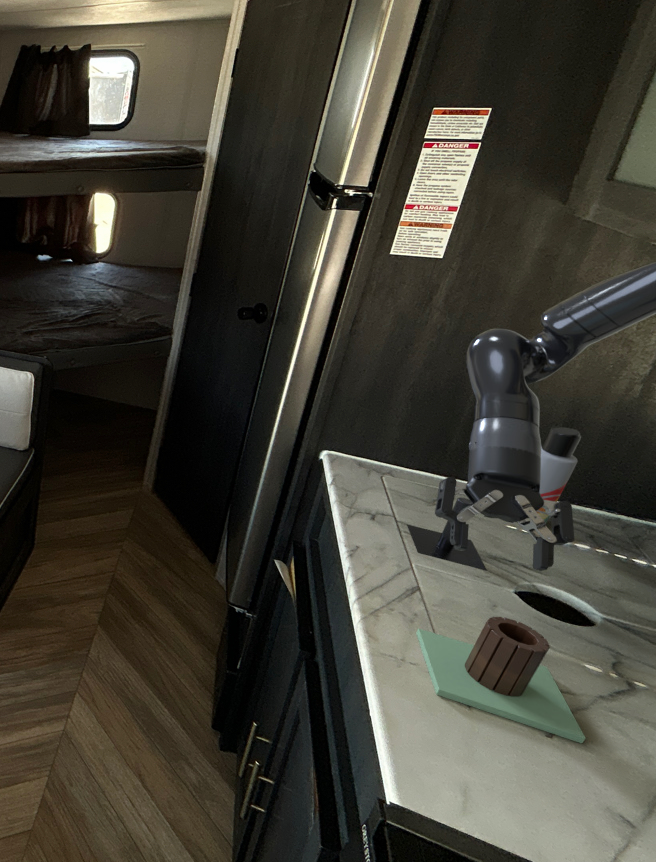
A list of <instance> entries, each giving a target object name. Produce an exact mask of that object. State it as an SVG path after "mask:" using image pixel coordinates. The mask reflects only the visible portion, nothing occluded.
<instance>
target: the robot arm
mask: <svg viewBox="0 0 656 862" xmlns="http://www.w3.org/2000/svg"><path fill="white" fill-rule="evenodd" d="M654 315H656V260H655V261H652V262H650V263H647V264H643V265H641V266H637V267H635V268H632V269H630V270H626V271H623V272H621V273H619V274H618V273H617V274H616V275H614V276H610V277H608V278H606V279H603V280H602V281H599V282H597V283H595V284H593V285H590V286H588V287H587V288H584V289H583V290H581V291H579V292H577V293H575V294H574V295H572V296H569V297H568V298H566V299H564V300H562V301H560V302H559V303H556V304H555V305H553V306H551V307H549V308H548V309H546V310H545V311H543V312H542V314H541V315H540V316H539V320H540V324H541V325H542V327H543V329H542V330H541V331H539V333H537V334H536V335H534V336H533V337H532V338H530V339H528V338H526V337H525V336H523V335H522V334H520V333H518V332H517V331H514V330H512V329H507V328H502V327H501V328H498V327H497V328H491V329H490V328H489V329H487V330H485V331H482V332H480V333H479V334H477V335H476V336H475V337H474V338H473V339H472V340H471V342H470V343H469V344H468V346H467V350H466V354H465V365H466V369H467V373H468V374H467V375H468V378H469V382H470V387H471V390H472V393H473V396H474V407H473V408H474V409H473V422H472V423H473V424H472V430H471V433H470V438H469V443H468V449H469V453H468V469H467V470H468V472H467V482H462V481H459V480H457V479H456V478H455V477H453V476H448V477H446V478H443V480H441V481H440V482H439V484H438V489H437V496H436V501H435V507H434V508H435V509H434V515H435V516H436V517H437V518H442V519H443V520H446V521H449V522H450V524H451V531H450V542H451V545H455V550H459V551H463V550H466V549H467V545H468V539H469V529H470V527H469V526H470V525H469V524H468V523H467V522H468V521H470V520H471V519H472V518H473V517H475V516H476V515H478V514H480V515H483V517H485V518H489V519H499V520H500V521H504V522H506V523H517V524H518V525H519V527H520V528H521V529H522V530H523V532H527V534H528V535H529V536H530V537H531V538H532V540H533V541H534V542H535V543H533V548H532V569H533V570H535V571H540V572H543V571H547V570H548V568H552V567H553V565H554V563H555V561H554V560H555V557H554V556H555V546H564V545H567V544H571V543H573V542H574V541H575V528H574V517H573V506H572V503H571V502H570V501H568V500H561V501H557V502H555V501H549V500H543V498H542V497H541V495H540V480H541V446H542V439H541V434H540V433H541V432H540V413H541V412H540V411H541V409H540V401H539V397H538V396H537V395H536V394H535V392H534V391H533V390H532V389H531V388H530V387H529V386H528V385H531V384H534V383H537V382H540V381H542V380H545V379H547V378H548V377H550V376H552V375H553V374H555V373H556V372H557V371H559V370H560V369H561V368H563V367H564V366H566V365H567V364H568V363H569V362H571V361H572V360H573V359H575V358H576V357H577V356H579V355H580V354H581V353H582V352H584V350H586V349H587V348H588V347H589V346H591V345H593V344H595V343H597V342H598V343H599V342H600V341H602V340H604V339H607V338H609V337H611V336H614V335H615V334H616V333H619V332H621V331H623V330H625V329H627V328H629V327H632V326H633V325H635V324H638V323H639V322H642V321H644V320H647V319H648V318H650V317H652V316H654ZM461 491H463V493H464V495H465V496H466V497H467V499H469V500H470V501H471V502H472V503H471V504H470V505H469V506H467V507H466V508H464V509H463V510H461V511H460V512H459V513H457V512H455V511H453V507H454V503H455V502H454V501H455V496H456V495H458V494H460V493H461ZM541 507H542V508H544V509H545V510H546V513H547V515H549V517H550V525H551V530H550V529H549V528H548V527H547V522H546V523H545V521H544V520H543V519H542V518H541V516H540V515H539V514H538V513H537V512H536V511H537V510H539V509H540V508H541ZM528 519H529V520H530V521H529V520H528Z"/></svg>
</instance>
